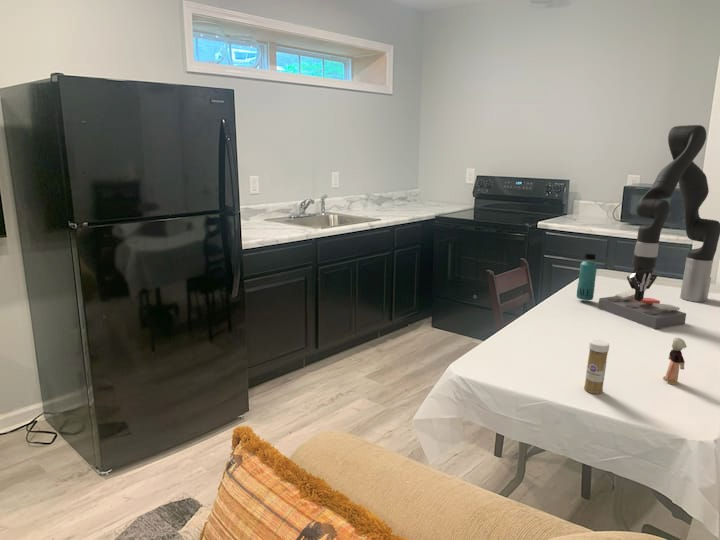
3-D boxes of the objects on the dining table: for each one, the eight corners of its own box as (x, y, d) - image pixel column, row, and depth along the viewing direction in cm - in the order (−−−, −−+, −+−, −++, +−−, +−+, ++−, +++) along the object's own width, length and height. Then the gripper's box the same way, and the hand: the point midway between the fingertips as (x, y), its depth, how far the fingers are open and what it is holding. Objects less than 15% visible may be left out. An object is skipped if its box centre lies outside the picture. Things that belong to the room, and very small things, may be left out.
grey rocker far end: (668, 309, 196) (669, 304, 195) (678, 312, 192) (679, 307, 192) (651, 307, 192) (653, 302, 192) (661, 310, 188) (663, 305, 188)
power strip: (626, 304, 213) (627, 293, 212) (684, 324, 191) (686, 312, 190) (598, 308, 208) (599, 297, 207) (654, 329, 185) (656, 317, 184)
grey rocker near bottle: (632, 293, 210) (632, 288, 209) (641, 295, 206) (641, 291, 206) (615, 299, 207) (615, 294, 206) (624, 302, 203) (624, 297, 203)
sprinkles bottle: (582, 391, 139) (588, 343, 135) (585, 385, 142) (591, 337, 139) (601, 396, 136) (608, 346, 133) (604, 389, 140) (610, 341, 137)
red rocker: (649, 302, 203) (650, 297, 203) (658, 305, 199) (660, 300, 199) (632, 301, 199) (634, 297, 199) (642, 304, 196) (643, 300, 195)
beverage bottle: (590, 299, 219) (596, 251, 214) (595, 304, 212) (601, 255, 208) (573, 298, 219) (579, 251, 215) (578, 303, 213) (584, 254, 208)
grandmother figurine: (656, 376, 148) (663, 333, 145) (669, 375, 149) (676, 333, 146) (674, 388, 141) (682, 343, 138) (688, 388, 141) (696, 343, 138)
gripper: (649, 251, 199) (642, 296, 203) (623, 253, 194) (616, 299, 198) (668, 255, 192) (660, 301, 196) (641, 257, 187) (633, 304, 191)
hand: (638, 300), depth 197 cm, fingers closed
